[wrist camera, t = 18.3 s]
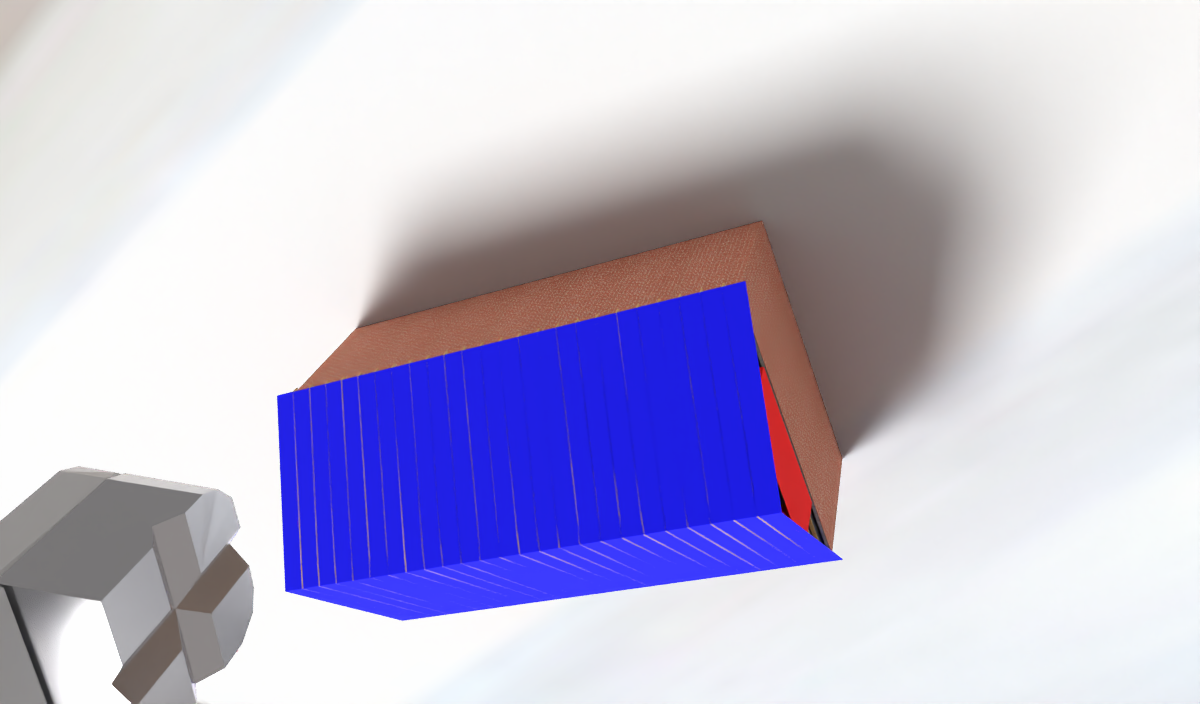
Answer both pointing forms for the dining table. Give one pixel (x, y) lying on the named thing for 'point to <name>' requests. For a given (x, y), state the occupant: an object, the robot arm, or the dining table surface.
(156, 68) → the dining table surface
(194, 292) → the dining table surface
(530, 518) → the house
